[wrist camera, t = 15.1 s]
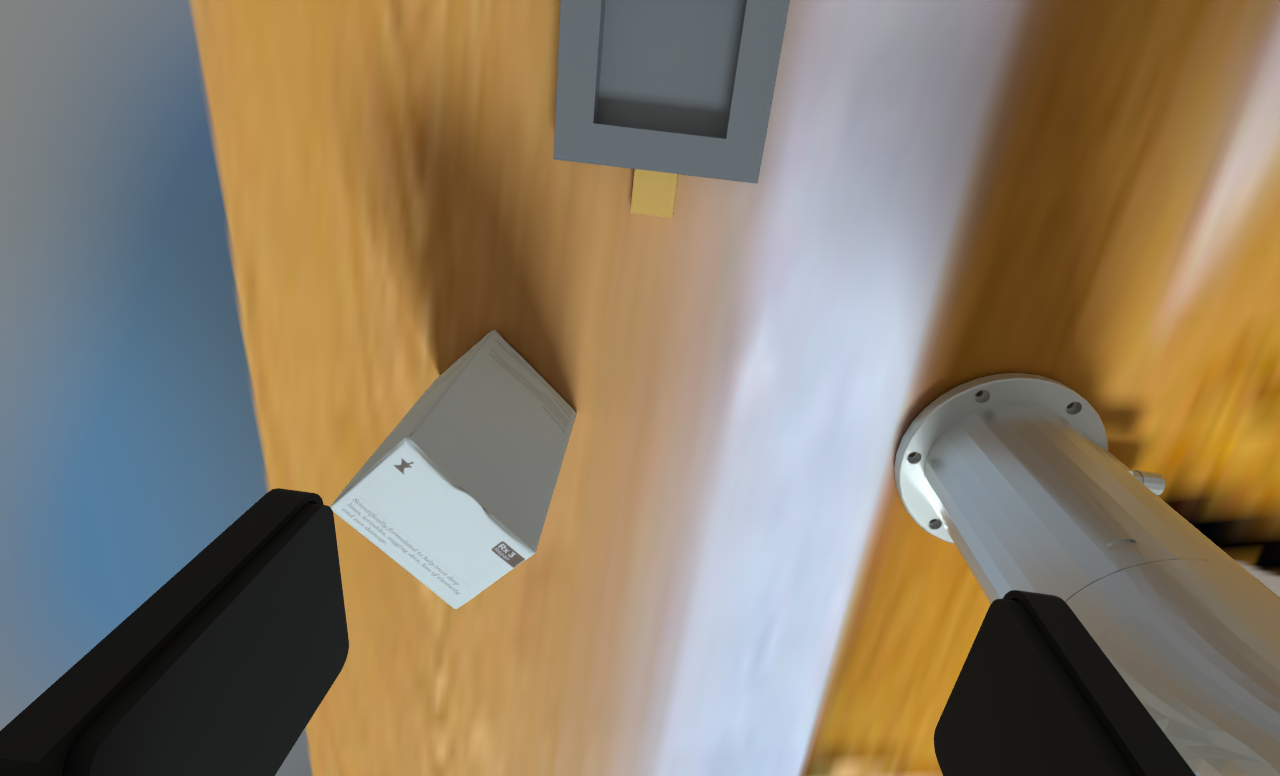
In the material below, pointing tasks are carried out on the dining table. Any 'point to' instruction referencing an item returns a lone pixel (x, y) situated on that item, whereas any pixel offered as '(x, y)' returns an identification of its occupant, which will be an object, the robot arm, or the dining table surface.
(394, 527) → the skincare box
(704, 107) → the socket
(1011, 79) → the dining table surface
